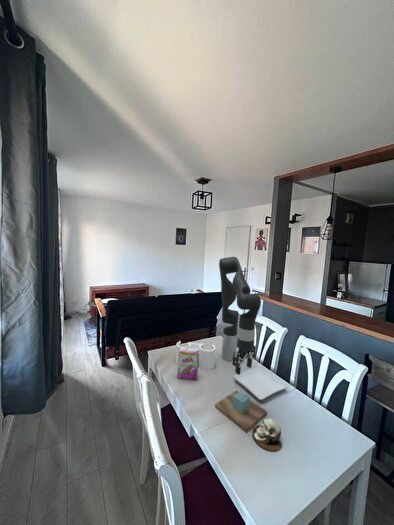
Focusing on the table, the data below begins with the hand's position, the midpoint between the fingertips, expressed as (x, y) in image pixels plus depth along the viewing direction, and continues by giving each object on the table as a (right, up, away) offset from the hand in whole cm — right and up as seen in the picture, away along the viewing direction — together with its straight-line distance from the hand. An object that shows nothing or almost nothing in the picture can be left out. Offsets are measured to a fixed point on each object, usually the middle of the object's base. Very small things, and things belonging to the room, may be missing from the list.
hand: (243, 370), depth 102 cm
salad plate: (+13, -19, +21) cm, 31 cm away
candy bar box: (-27, -17, +25) cm, 41 cm away
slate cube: (-1, -18, +2) cm, 19 cm away
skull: (+7, -22, -12) cm, 26 cm away
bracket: (-23, -15, +39) cm, 48 cm away
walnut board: (-1, -20, +2) cm, 20 cm away
